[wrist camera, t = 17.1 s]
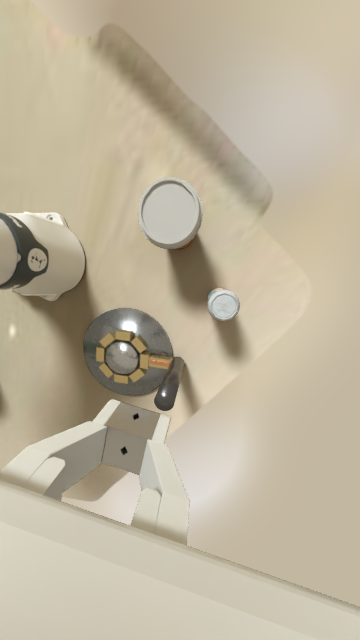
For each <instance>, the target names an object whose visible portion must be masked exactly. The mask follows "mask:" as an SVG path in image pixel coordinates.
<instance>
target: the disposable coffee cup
mask: <svg viewBox="0 0 360 640" xmlns="http://www.w3.org/2000/svg"><path fill="white" fill-rule="evenodd" d="M202 216H203V209H202V203H201V199H200V197H199V195H198V193H197V192H196V190H195V189H194V188H193V187H192V186H191V185H190V184H189V183H187V182H186V181H184V180H182V179H178V178H174V177H165V178H161V179H159V180H156V181H155V182H153V183H152V184H151V185H150V186H149V187H148V188H147V189H146V190H145V192H144V193H143V195H142V198H141V200H140V205H139V212H138V217H139V224H140V227H141V230H142V232H143V234H144V235H145V236H146V238H147V239H148V240H149V241H150V242H151V243H153V244H154V245H156V246H158V247H160V248H164V249H175V248H176V249H183V248H186V247H187V246H189V245H190V244H191V243H192V241H193V239H194V237H195V235H196V234H197V232H198V230H199V228H200V226H201V222H202Z"/></svg>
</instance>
